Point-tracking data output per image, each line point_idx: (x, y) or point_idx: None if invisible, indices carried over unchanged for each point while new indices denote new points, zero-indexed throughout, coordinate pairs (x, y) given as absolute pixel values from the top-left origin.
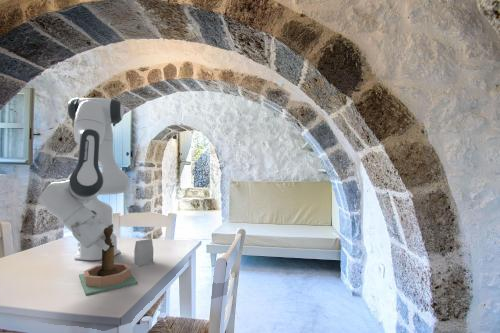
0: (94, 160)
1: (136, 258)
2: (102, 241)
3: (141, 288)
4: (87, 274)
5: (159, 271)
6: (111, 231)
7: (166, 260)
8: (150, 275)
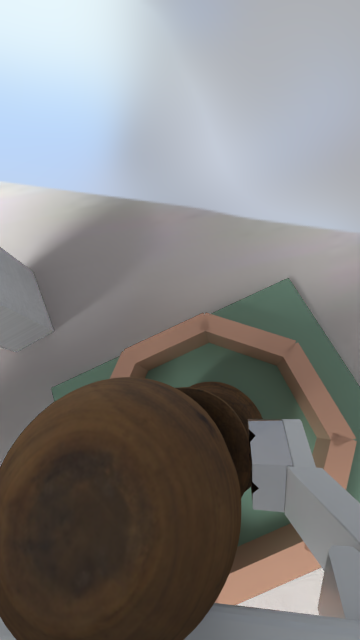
0: None
1: (19, 327)
2: (357, 527)
3: (339, 257)
4: (282, 564)
5: (149, 228)
6: (180, 393)
7: (21, 226)
8: (189, 253)
